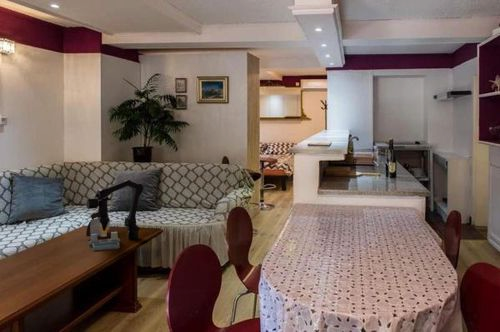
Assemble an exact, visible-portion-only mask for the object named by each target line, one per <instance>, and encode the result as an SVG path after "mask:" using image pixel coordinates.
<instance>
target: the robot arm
mask: <svg viewBox="0 0 500 332" xmlns="http://www.w3.org/2000/svg"><path fill="white" fill-rule="evenodd" d="M127 187H129V188H131V193H132V198H131V202H130V207H129V213H128V215H127V216H125V217H124V222H123V223H124V227H125V228H126V229H127V231H128V232H127V239H128V240H129V241H136V240H139V231H140V227H139V226H138V225H137V218H136V217H137V216H136V215H137V209H138V206H139V199H140V197H141V195H142V194H143V192H144V185H143V184H142V183H138V182H134V181H131V180H130V179H124V180H122V181H120V182H118V183H115V184H113V185H110V186H106V187H100V188H98V189H97V191H96V194H95V195H94V197H93V198H87V200H86V202H85V204H86V209H87V210H92V209H97V208H98V209H97V211H93V212H92V213H89V216H90V218H91V219H90V220H92V219H96V218H99V217H100V218H99V219H98V220H99V222H100V223H101V224H102V227H103V231H105V229H106V227H107V224H108V222H110V223H111V219H110V216H109V217H108V215H109V208H108V201H111V198H109V196H110V195H111V194H113V193H114V192H117V191H119V190H121V189H124V188H127Z"/></svg>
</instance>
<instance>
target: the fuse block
mask: <svg viewBox="0 0 500 332" xmlns="http://www.w3.org/2000/svg"><path fill="white" fill-rule="evenodd" d="M111 241H112V240H111V238H107V239H98V242H94V243H101V242H111ZM114 241H118V243H119V245H121V239H120V238H119V237H118V240H114ZM87 243H88V246H89V247H90V248H91V247H93V243H91V240H89V241H88V242H87Z"/></svg>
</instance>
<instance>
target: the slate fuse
mask: <svg viewBox="0 0 500 332" xmlns="http://www.w3.org/2000/svg"><path fill="white" fill-rule="evenodd" d="M98 240H99V239H98V236H97V234H91V237H90V241H91V243H94V242H98Z"/></svg>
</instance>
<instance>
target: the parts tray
mask: <svg viewBox="0 0 500 332" xmlns="http://www.w3.org/2000/svg"><path fill="white" fill-rule="evenodd" d="M120 245H121V244H119V243H118V241H111V242H101V243H93V246H92V251H93V252H96V251H105V250H108V251H109V250H116V249H120Z"/></svg>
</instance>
